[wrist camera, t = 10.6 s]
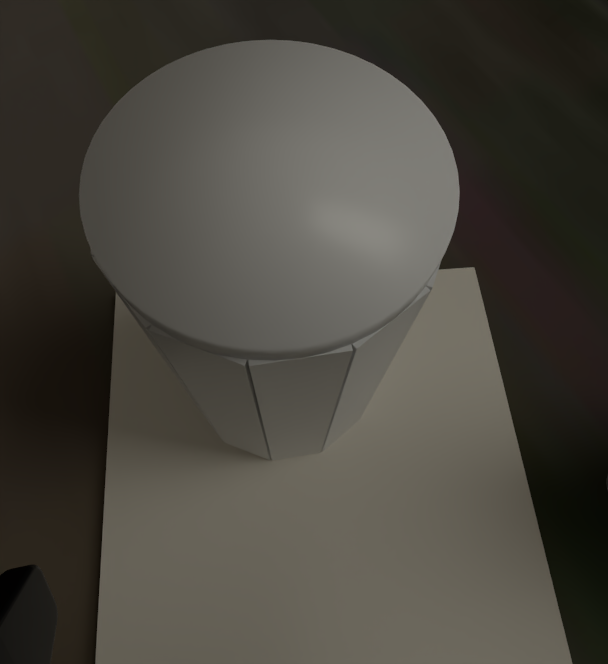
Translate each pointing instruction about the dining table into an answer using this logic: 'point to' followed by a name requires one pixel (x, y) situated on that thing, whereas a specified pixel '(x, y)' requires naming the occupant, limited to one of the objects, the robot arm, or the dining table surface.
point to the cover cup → (272, 231)
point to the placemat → (328, 519)
